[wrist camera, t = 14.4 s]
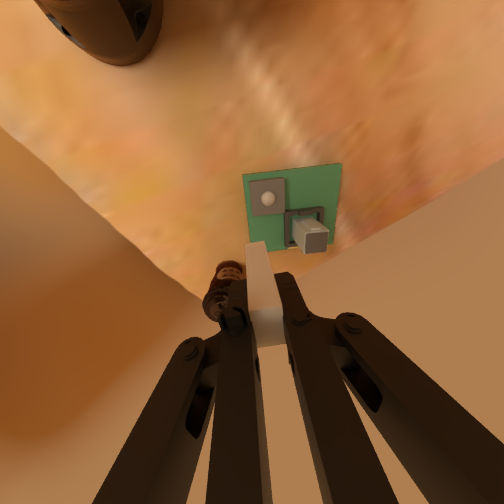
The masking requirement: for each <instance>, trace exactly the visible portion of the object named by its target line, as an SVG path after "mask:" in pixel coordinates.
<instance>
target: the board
mask: <svg viewBox="0 0 504 504" xmlns="http://www.w3.org/2000/svg"><path fill="white" fill-rule="evenodd" d="M341 170H342V164H340V163H336V164H327V165H319V166H311V167H302V168H294V169H286V170H277V171H269V172H260V173H252V174H244V175H243V183H244V192H245V200H246V208H247V216H248V225H249V233H250V241H251V243H253V242H259V241H264V242H265V245H266V249H267V252H269V251H278V250H286V249H295V248H299V246H298V245H297V243H296V242H295V240H294V239H293V237H292V218H300V217H311V216H312V217H313V218H315V219H316V220H317V221H318V222H320V223H321V224H322V225H323V226H325V227H326V228H327V229H328V230H329V236H328V244H333V239H334V230H335V221H336V213H337V204H338V195H339V187H340V178H341ZM328 244H327V245H328Z"/></svg>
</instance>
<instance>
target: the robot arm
mask: <svg viewBox="0 0 504 504" xmlns="http://www.w3.org/2000/svg"><path fill="white" fill-rule="evenodd" d="M34 1H35V2H36V4H37V5H38V6H39V7H40V9H41V10H42V11H43V12H44V14H45V15H46V16H47V17H48V18H49V20H50V21H51V22H52V23H53V24H54V25H55V26H56V28H57V29H58V30H59V31H60V32H61V33H62V34H64V35H65V36H66V37H67V38H68V39H69V40H70V41H71V42H73V43H74V44H75V45H77V46H78V47H80V48H81V49H82V50H84V51H85V52H87V53H88V54H90V55H91V56H93V57H95V58H96V59H98V60H101V61H103V62H106V63H109V64H113V65H129V64H132V63H135V62H137V61H139V60H141V59H142V58H143V57H145V56H146V55H147V54H148V52H149V51H150V50H151V49H152V47H153V45H154V43H155V41H156V39H157V37H158V34H159V30H160V26H161V20H162V0H34ZM245 257H246V275H247V279H243V280H237V281H232V283H231V285H230V286H229V292H228V294H229V295H228V305H227V307H226V308H224V309H223V310H222V311H221V312H220V313H219V315H218V318H217V319H218V322H219V325H220V327H221V331H220V332H219V333H217V334H216V335H214V336H212V337H210V338H208V339H206V340H204V341H203V340H202V339H201V338H199V337H191V338H189V339H186V340H185V341H183V342H182V343H181V344H180V345H179V346H178V348H177V349H176V350H175V352H174V354H173V356H172V358H171V360H170V362H169V363H168V365H167V367H166V369H165V371H164V372H163V374H162V376H161V378H160V380H159V382H158V384H157V385H156V387H155V389H154V391H153V393H152V395H151V396H150V398H149V400H148V402H147V404H146V406H145V407H144V409H143V411H142V413H141V415H140V417H139V418H138V420H137V422H136V424H135V426H134V427H133V429H132V431H131V433H130V435H129V437H128V439H127V440H126V442H125V444H124V446H123V448H122V449H121V451H120V453H119V455H118V457H117V459H116V461H115V462H114V464H113V466H112V468H111V470H110V471H109V473H108V475H107V477H106V479H105V481H104V482H103V484H102V486H101V488H100V490H99V492H98V493H97V495H96V497H95V499H94V501H93V503H92V504H186V501H187V498H188V494H189V491H190V487H191V483H192V480H193V477H194V473H195V470H196V466H197V462H198V459H199V456H200V452H201V449H202V445H203V441H204V438H205V435H206V431H207V428H208V424H209V421H210V417H211V414H212V410H213V407H214V403H215V408H214V419H213V429H212V440H211V450H210V461H209V471H208V482H207V492H206V502H205V504H273V501H272V491H271V480H270V471H269V460H268V450H267V439H266V428H265V418H264V407H263V397H262V387H261V376H260V366H259V358H258V354H257V348H260V347H267V346H273V345H280V344H287V348H288V357H289V364H290V365H291V369H292V373H293V377H294V382H295V386H296V390H297V394H298V399H299V403H300V407H301V411H302V415H303V420H304V423H305V428H306V432H307V437H308V441H309V445H310V449H311V453H312V458H313V462H314V466H315V470H316V474H317V479H318V483H319V488H320V491H321V496H322V500H323V504H399V503H398V501H397V498H396V496H395V494H394V492H393V490H392V488H391V485H390V483H389V481H388V478H387V476H386V474H385V472H384V470H383V467H382V465H381V463H380V461H379V459H378V456H377V454H376V452H375V450H374V447H373V445H372V443H371V441H370V439H369V436H368V434H367V432H366V430H365V428H364V425H363V423H362V421H361V419H360V416H359V414H358V412H357V410H356V407H355V405H354V403H353V401H352V399H351V396H350V394H349V392H348V390H347V388H346V385H345V383H346V384H347V386H348V387H349V389H350V390H351V391H352V393H353V394H354V396H355V397H356V399H357V400H358V402H359V403H360V405H361V406H362V407H363V409H364V410H365V412H366V413H367V414H368V416H369V417H370V419H371V420H372V422H373V423H374V425H375V426H376V428H377V429H378V430H379V432H380V433H381V434H382V436H383V438H384V439H385V441H386V442H387V443H388V445H389V446H390V448H391V449H392V451H393V452H394V453H395V455H396V456H397V458H398V459H399V461H400V462H401V464H402V465H403V466H404V468H405V469H406V470H407V472H408V474H409V475H410V476H411V478H412V479H413V481H414V482H415V484H416V485H417V486H418V488H419V489H420V491H421V492H422V494H423V495H424V497H425V498H426V500H427V501H428V502H429V504H504V444H503V443H502V442H501V441H500V440H498V439H497V438H496V437H495V436H494V435H493V434H492V433H491V432H490V431H489V430H487V429H486V428H485V427H484V426H483V425H482V424H481V423H480V422H479V421H478V420H476V419H475V418H474V417H473V416H472V415H471V414H470V413H469V412H468V411H466V410H465V409H464V408H463V407H462V406H461V405H460V404H459V403H458V402H457V401H456V400H454V399H453V398H452V397H451V396H450V395H449V394H448V393H447V392H445V390H443V389H442V388H441V387H440V386H439V385H438V384H437V383H436V382H435V381H433V380H432V379H431V378H430V377H429V376H428V375H427V374H426V373H424V371H422V370H421V369H420V368H419V367H418V366H417V365H416V364H415V363H413V362H412V361H411V360H410V359H409V358H408V357H407V356H406V355H405V354H404V353H403V352H402V351H400V350H399V349H398V348H397V347H396V346H395V345H394V344H393V343H391V342H390V341H389V340H388V339H387V338H386V337H385V336H384V335H383V334H382V333H381V332H379V331H378V330H377V329H376V328H375V327H374V326H373V325H372V324H371V323H369V322H368V321H367V320H366V319H365V318H363V317H362V316H360V315H357V314H355V313H348V312H346V313H341V314H340V315H338V316H337V318H336V319H329V318H323V317H319V316H316V315H314V314H313V313H312V312H310V311H309V310H308V308H307V307H306V304H305V302H304V299H303V297H302V295H301V293H300V290H299V288H298V286H297V283H296V281H295V279H294V276H293V275H291V274H290V273H289V272H283V273H277V274H273V271H272V267H271V263H270V260H269V256H268V253H267V249H266V245H265V242H264V241H259V242H253V243H247V244H245ZM343 380H344V381H345V383H344V381H343Z"/></svg>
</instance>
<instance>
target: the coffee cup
mask: <svg viewBox="0 0 504 504" xmlns="http://www.w3.org/2000/svg"><path fill="white" fill-rule="evenodd" d="M243 279H244V277H243V275H242V268H241V266H240V265H239V264H237V263H236V262H233V261H223V262H222V263H219V264H218V266H217V268H216V274H215V276H214V278H213V279H212V281H211V284H210V288H209V290H208V293H207V294H206V295H205V297H204V299H203V303H202V306H203V309H204V312H205V314H206V315H207V316H208V317H209V319H211V320H212V321H215V322H218V319H217V318H218V315H219V313H220V312H221V311H222V310H223V309H224V308H226V307H227V305H228V295H229V294H228V292H229V286H230V285H231V283H232V281H237V280H243ZM218 323H219V322H218Z"/></svg>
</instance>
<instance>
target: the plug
mask: <svg viewBox="0 0 504 504" xmlns="http://www.w3.org/2000/svg"><path fill="white" fill-rule="evenodd" d="M328 236H329V230H328V229H327V228H326V227H325V226H323V225H322V224H321V223H320V222H318V221H317V220H316V219H315V218H313V217H312V216H311V217H300V218H292V237H293V239H294V240H295V242H296V243H297V245H298V246H299V248H300V249H301V251H302V252H303V254H310V253H320V252H326V251H327V244H328Z"/></svg>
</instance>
